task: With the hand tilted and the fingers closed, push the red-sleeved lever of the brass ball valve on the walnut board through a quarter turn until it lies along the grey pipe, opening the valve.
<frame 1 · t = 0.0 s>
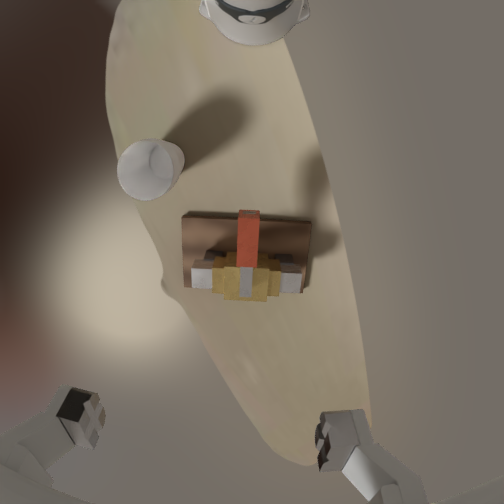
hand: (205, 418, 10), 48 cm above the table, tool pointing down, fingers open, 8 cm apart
cup: (167, 160, 53), on the table
lever: (247, 258, 46), point 13 cm above the table, hinge at 0.0°
board: (245, 253, 60), on the table
valve: (247, 259, 60), resting on board
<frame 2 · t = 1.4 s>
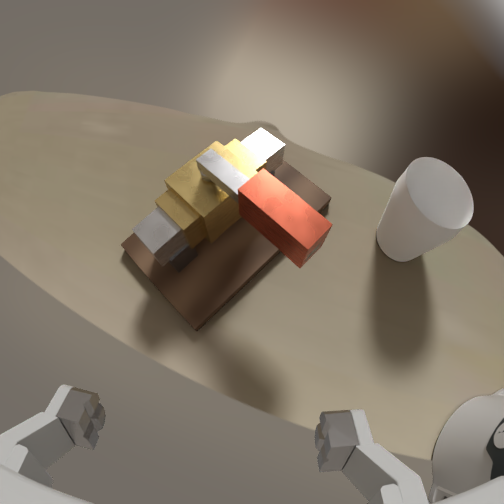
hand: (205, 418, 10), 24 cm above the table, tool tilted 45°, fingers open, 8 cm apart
cup: (397, 239, 39), on the table
lever: (253, 196, 26), point 13 cm above the table, hinge at 0.0°
board: (227, 224, 39), on the table
valve: (219, 222, 40), resting on board
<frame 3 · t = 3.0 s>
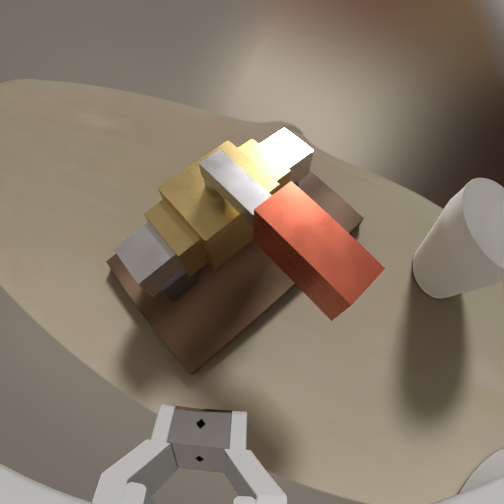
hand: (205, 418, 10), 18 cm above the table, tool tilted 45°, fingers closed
cup: (435, 271, 32), on the table
lever: (274, 219, 19), point 13 cm above the table, hinge at 0.0°
board: (236, 245, 32), on the table
valve: (226, 241, 33), resting on board
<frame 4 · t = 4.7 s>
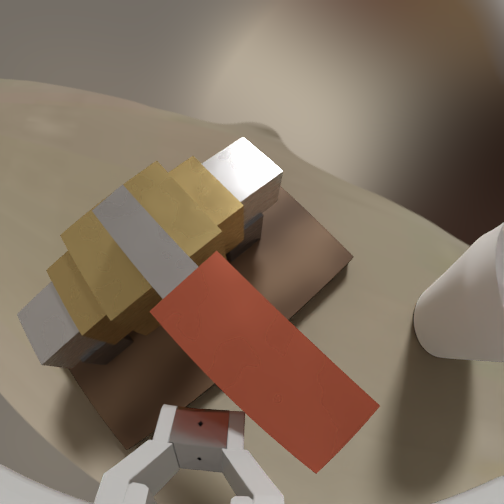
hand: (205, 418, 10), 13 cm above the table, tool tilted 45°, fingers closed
cup: (441, 321, 24), on the table
lever: (199, 304, 12), point 13 cm above the table, hinge at 3.3°, touching gripper
board: (185, 291, 25), on the table
valve: (172, 285, 25), resting on board
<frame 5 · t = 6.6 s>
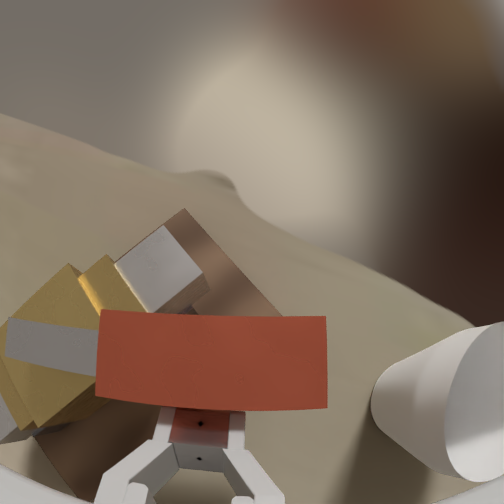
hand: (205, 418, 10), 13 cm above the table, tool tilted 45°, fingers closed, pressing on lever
cup: (404, 398, 22), on the table
lever: (130, 357, 11), point 13 cm above the table, hinge at 48.1°, touching gripper
board: (129, 365, 22), on the table
valve: (117, 359, 23), resting on board
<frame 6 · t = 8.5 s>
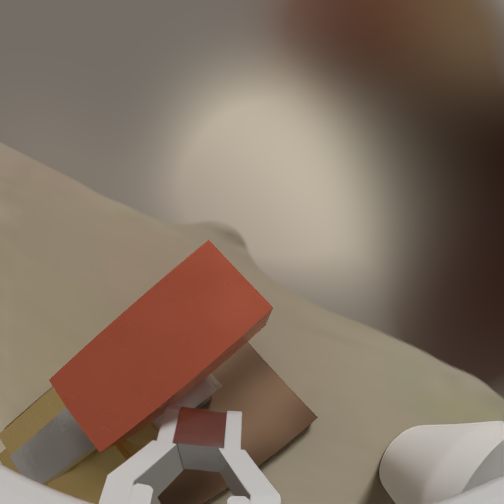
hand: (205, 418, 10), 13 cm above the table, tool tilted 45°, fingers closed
cup: (412, 460, 20), on the table
lever: (108, 405, 10), point 13 cm above the table, hinge at 91.7°, touching gripper
board: (138, 436, 20), on the table
valve: (125, 429, 20), resting on board
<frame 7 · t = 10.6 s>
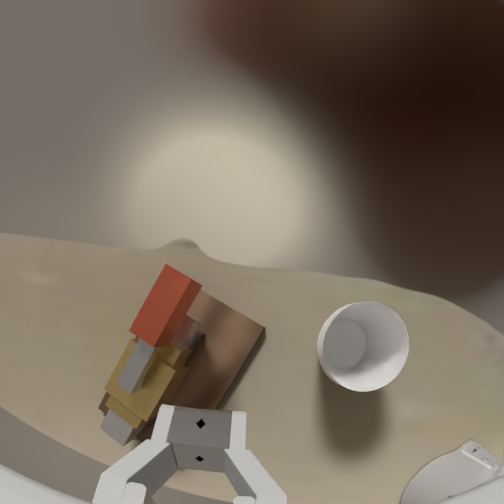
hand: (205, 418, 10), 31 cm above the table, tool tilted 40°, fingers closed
cup: (342, 343, 39), on the table
lever: (152, 336, 29), point 13 cm above the table, hinge at 91.1°
board: (176, 373, 40), on the table
valve: (168, 372, 40), resting on board
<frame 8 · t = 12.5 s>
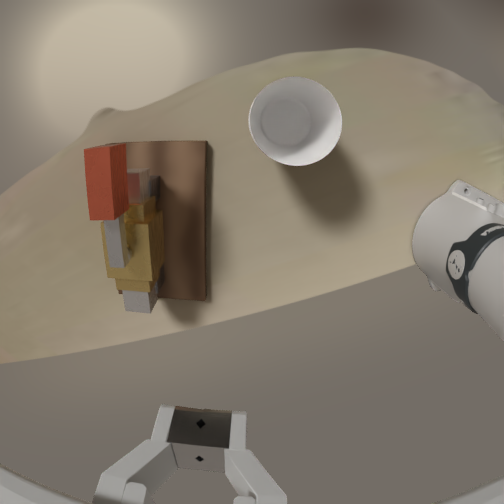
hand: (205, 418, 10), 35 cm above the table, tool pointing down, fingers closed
cup: (285, 121, 39), on the table
lever: (111, 210, 30), point 13 cm above the table, hinge at 91.1°
board: (157, 222, 44), on the table
valve: (151, 225, 44), resting on board
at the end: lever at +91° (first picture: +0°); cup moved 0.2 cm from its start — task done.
